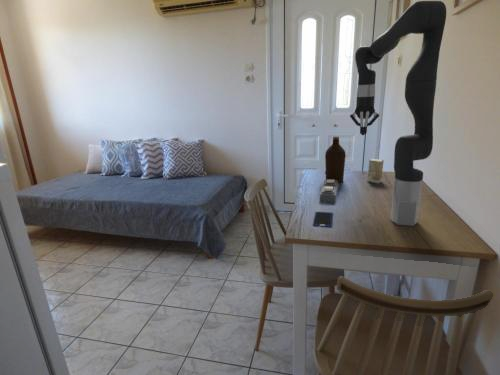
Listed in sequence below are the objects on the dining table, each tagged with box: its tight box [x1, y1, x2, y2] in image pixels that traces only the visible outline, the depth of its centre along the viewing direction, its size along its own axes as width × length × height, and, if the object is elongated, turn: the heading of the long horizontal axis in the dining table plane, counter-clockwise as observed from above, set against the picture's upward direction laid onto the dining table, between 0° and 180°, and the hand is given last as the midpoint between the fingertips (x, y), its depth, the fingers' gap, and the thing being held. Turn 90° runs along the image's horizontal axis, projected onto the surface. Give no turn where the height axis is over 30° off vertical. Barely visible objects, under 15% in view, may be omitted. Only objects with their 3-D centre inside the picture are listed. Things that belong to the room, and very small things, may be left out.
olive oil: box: [324, 136, 346, 185], centre depth 164 cm, size 11×11×25 cm
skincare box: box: [366, 158, 384, 184], centre depth 163 cm, size 6×4×12 cm
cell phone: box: [312, 211, 334, 228], centre depth 122 cm, size 7×14×1 cm, turn 164°
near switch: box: [324, 186, 333, 191], centre depth 143 cm, size 5×4×1 cm
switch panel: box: [319, 179, 339, 203], centre depth 149 cm, size 22×7×4 cm, turn 161°
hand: (363, 134), depth 138 cm, fingers closed
